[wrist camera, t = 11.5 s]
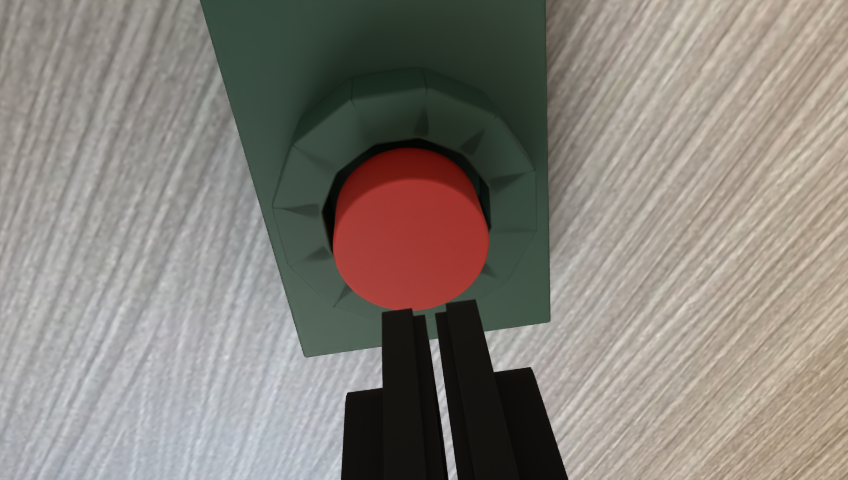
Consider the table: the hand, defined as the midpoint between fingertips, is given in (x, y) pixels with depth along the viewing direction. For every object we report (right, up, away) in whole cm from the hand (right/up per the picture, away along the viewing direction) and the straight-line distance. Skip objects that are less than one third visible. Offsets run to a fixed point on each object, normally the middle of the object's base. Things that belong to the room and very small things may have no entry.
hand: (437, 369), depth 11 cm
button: (-1, +3, +5) cm, 5 cm away
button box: (-1, +5, +8) cm, 9 cm away
